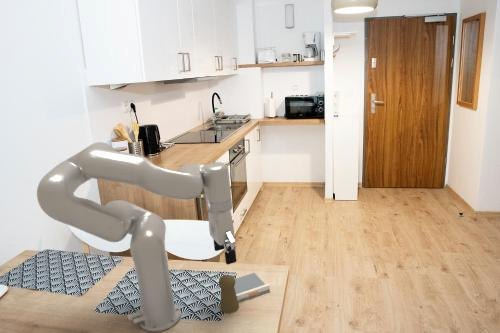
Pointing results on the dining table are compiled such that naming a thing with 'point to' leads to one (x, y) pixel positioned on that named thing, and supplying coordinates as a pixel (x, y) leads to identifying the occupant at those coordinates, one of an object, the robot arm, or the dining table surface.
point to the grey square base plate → (250, 287)
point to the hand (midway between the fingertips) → (225, 256)
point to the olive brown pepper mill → (228, 294)
